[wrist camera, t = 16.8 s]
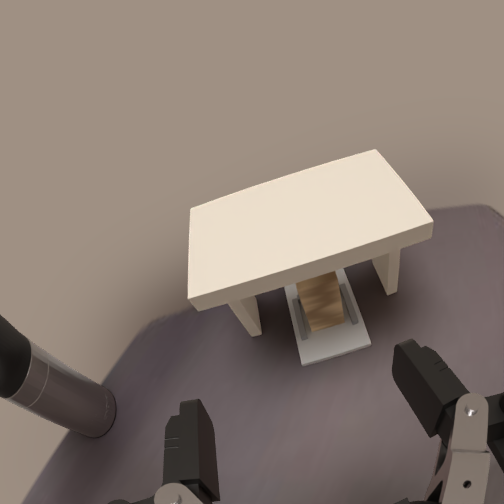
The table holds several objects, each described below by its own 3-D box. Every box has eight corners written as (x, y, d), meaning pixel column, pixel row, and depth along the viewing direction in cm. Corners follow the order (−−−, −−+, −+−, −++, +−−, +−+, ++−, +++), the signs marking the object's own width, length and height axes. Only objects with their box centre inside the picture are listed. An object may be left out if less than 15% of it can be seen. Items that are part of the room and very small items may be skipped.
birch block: (312, 332, 40) (296, 289, 33) (305, 304, 43) (289, 258, 36) (344, 322, 39) (337, 277, 32) (336, 295, 42) (326, 247, 35)
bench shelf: (257, 378, 39) (187, 301, 25) (246, 295, 48) (190, 201, 35) (413, 329, 36) (435, 223, 22) (378, 254, 45) (370, 143, 32)
